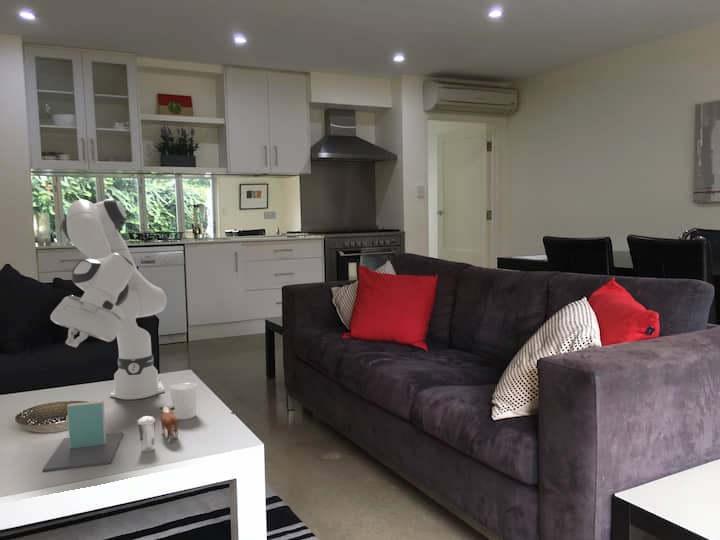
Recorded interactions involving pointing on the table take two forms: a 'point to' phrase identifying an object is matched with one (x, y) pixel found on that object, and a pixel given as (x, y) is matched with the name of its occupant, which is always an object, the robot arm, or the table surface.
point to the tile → (86, 424)
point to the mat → (83, 454)
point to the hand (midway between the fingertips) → (70, 345)
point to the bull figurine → (169, 421)
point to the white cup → (184, 400)
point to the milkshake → (146, 433)
